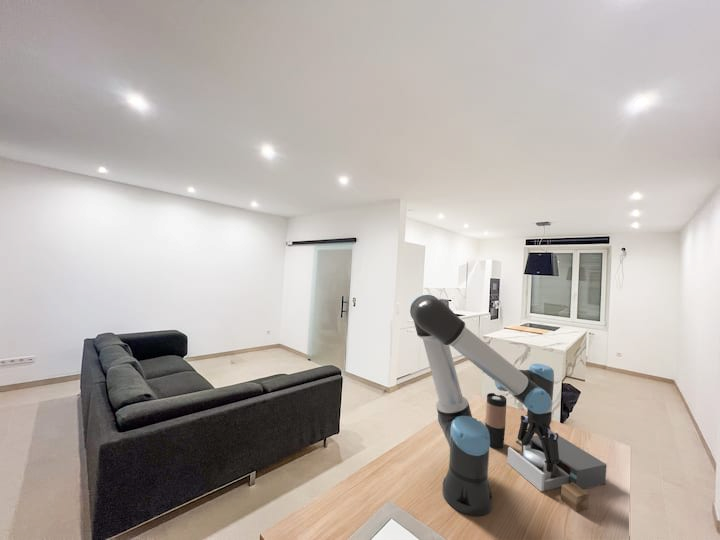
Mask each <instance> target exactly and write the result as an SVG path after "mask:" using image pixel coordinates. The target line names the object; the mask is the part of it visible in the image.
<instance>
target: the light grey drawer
mask: <svg viewBox="0 0 720 540" xmlns="http://www.w3.org/2000/svg"><path fill="white" fill-rule="evenodd" d="M506 462H507V464H508V465H509V466H510V467H512V468H513V469H514V470H515V471H516V472H517V473H519V474H520V476H522V477H524V478H525V479H526V480H527V481H528V482H529V483H531V484H532V485H533V486H534V487H535V488H536V489H538V491H539V492H546V491H550V490H555V489H559V488H561V486H562V485H563V484H568V483H570V473H567V472H566V471H565V470H564V469H562V468H561V467H559V466H558V465H557V464H553V471H552V472H551V477H553V476H555V477H553V478H551V479H548V480H545V474H544V473H543V467H538V466H535V465H533V464H532V463H530V462H529V461H528V460H526V459H525V458H524V457H523V452H522V451H521V452H517V451H516V450H515V449H513V448H512V447H509V446H508V448H507V458H506Z"/></svg>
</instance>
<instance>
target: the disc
mask: <svg viewBox="0 0 720 540" xmlns="http://www.w3.org/2000/svg"><path fill="white" fill-rule="evenodd" d="M524 458H525V459H526V460H528V461H529V462H530V463H532V464H533V465H535V466H538V467H543V464H544V460H546V458H545V455H544V453H543V452H541V451H539V450H535V449H526V450H525V451H524Z"/></svg>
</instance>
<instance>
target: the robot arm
mask: <svg viewBox="0 0 720 540" xmlns="http://www.w3.org/2000/svg"><path fill="white" fill-rule="evenodd" d="M409 313H410V316H411V318H412V320H413V323H414V327H415V331H416V335H417V336H418V337H419V338H420V339H422V340H423V345H424V348H425V352H426V356H427V360H428V364H429V368H430V372H431V376H432V380H433V383H434V386H435V387H434V388H435V391H436V394H437V395H436V396H437V399H438V401H437V402H436V404H435V407H436V412H437V421H438V424H439V426H440V428H441V429H442V432H443V434H444V437H445V439H446V441H447V443H448V446H449V463H448V464H449V466H448V469H447V472H446V475H445V477H444V478H443V482H442V489H441V490H442V491H441V492H442V496H443V498H444V500H445V501H446V502H447V504H449V506H450V507H452V508H453V509H454V510H456V511H458V512H460V513H462V514H464V515H467V516H473V517H481V516H485V515H487V514H489V513H490V512H491V511H492V508H493V501H494V500H493V494H492V490H491V487H490V482H489V479H488V476H489V473H488V472H489V461H490V457H489V456H490V448H491V447H490V436H489V431H488V429H487V427H486V426H485V424H484V422H482V421H480V420H478V419H477V418H475V417H473V415H472V411H471V407H470V403H469V400H468V398H466V397H465V396H463V393H462V390H461V385H460V382H459V378H458V375H457V374H458V373H457V370H456V367H455V363H454V359H453V356H452V352H451V348H450V346H451V347H452V348H453V349H454V350H456V351H457V352H458V353H459V354H461V355H462V356H463V357H464V358H466V360H468V361H470V362H471V363H472V364H473V365H475V366H476V368H479V370H481V372H483V373H485V375H487V376H488V377H489V378H491V379H492V380H493V381H494V384H495V387H496V388H497V390H499V391H502V392H508V393H509V394H510V395H512V397H514V398H515V399H517V400H518V401H519V402H520V403H521V404H523V406H524V407H525V408H526V409H527V412H526V414H525V415H520V424H519V428H518V435H517V440H520V441H521V443H522V446H521V452H523V457H524V451H525V450H526V449H531V446H530V445H528V444H530V440H531V439H532V437H533V436H535V434H536V436H539V439H540V440H541V443H542V447H543V451H544V455H545V458H546V460H544V464H543V473H544V474H545V480H548V479H552V478H551V477H552V476H551V472H552V471H553V464H556V465H558V464H560V463H559V452H558V442H557V440H558V435H559V434H558V432H554V431H552V430H551V426H550V425H551V423H552V417H553V414H552V413H553V412H552V410H553V397H554V383H555V374H554V373H555V372H554V369H553V368H552V367H550V366H549V365H545V364H542V363H531V364H530V365H529V369H518V368H517V367H516V366H515V365H513V364H512V363H510V362H509V361H508V360H507V359H506V358H504V357H503V355H501V354H499V352H497V351H496V350H494V348H492V347H491V346H489V345H488V344H487V343H486V342H485V341H484V340H483V339H481V338H480V337H478V336H477V335H476V334H475V333H474V332H472V331H471V330H470V329H469V328H467V326H466V322H465V321H463V320H462V319H461V318H460V317H459V316H458V315H457V314H456V313H455V312H454V311H453V310H452V309H451V308H450V307H449V306H448V304H446V303H445V301H443V300H441V299H439V298H438V297H436V296H434V295H432V294H422V295H420V296H417V297H416V298H415V299H414V300H413V301H412V303H411V305H410V309H409ZM542 436H545V437H542Z"/></svg>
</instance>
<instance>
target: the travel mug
mask: <svg viewBox="0 0 720 540" xmlns="http://www.w3.org/2000/svg"><path fill="white" fill-rule="evenodd" d="M485 405H486V406H485V422H484V423H485V424H484V425H485V426H486V427H487V429H488V431H489V436H490V447H489V448H492V449H494V450H500V449H503V448H504V443H505V433H506V423H507V422H506V419H507V418H506V417H507V397H505V396H504V395H502V394H498V395H497V394H496V393H494V392H491V393H487V395H486V404H485Z"/></svg>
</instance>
